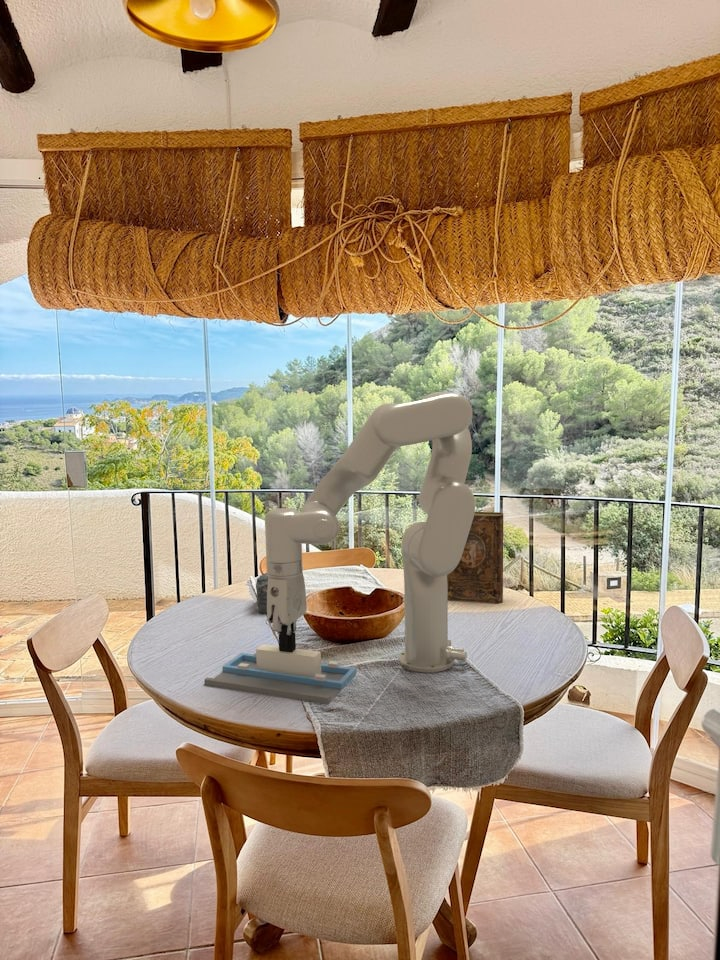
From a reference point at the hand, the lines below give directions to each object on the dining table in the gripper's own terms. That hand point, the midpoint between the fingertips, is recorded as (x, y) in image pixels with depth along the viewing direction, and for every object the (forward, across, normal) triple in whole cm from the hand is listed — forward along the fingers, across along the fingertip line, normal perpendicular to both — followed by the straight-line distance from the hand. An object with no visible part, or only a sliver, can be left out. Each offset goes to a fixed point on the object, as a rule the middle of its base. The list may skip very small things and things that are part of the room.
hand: (287, 650), depth 150 cm
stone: (+6, +41, +26) cm, 48 cm away
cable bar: (+5, 0, 0) cm, 5 cm away
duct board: (+6, -3, 0) cm, 7 cm away
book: (+6, +64, -27) cm, 70 cm away
